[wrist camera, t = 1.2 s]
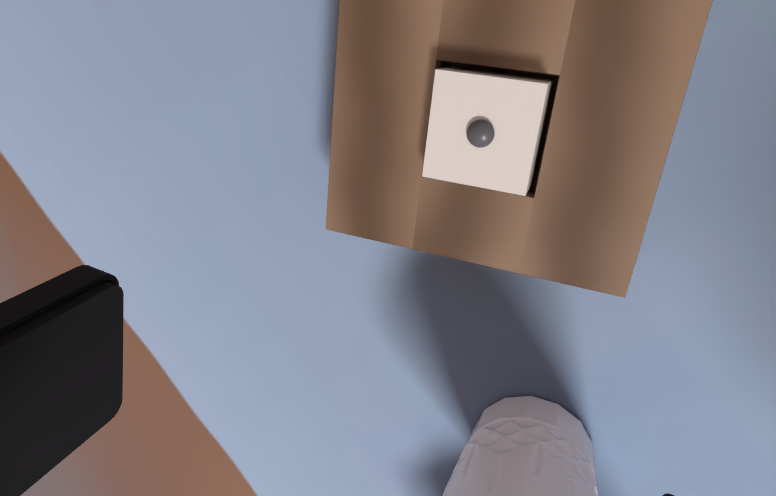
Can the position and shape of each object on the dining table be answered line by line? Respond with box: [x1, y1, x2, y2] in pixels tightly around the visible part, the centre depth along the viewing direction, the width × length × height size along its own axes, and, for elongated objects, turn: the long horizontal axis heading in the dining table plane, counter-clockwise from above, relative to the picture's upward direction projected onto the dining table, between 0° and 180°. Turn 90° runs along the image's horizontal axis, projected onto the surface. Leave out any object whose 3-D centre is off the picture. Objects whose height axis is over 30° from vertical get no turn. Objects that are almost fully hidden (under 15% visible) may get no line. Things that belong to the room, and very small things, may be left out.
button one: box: [422, 66, 554, 196], centre depth 23 cm, size 4×4×3 cm
